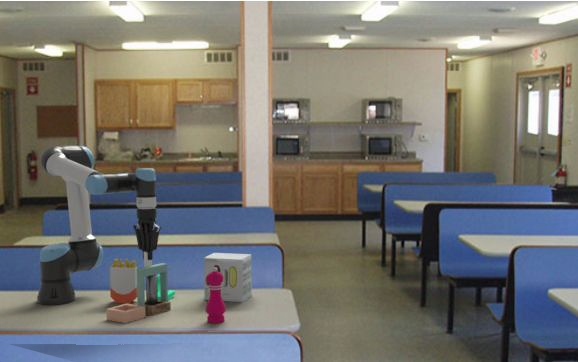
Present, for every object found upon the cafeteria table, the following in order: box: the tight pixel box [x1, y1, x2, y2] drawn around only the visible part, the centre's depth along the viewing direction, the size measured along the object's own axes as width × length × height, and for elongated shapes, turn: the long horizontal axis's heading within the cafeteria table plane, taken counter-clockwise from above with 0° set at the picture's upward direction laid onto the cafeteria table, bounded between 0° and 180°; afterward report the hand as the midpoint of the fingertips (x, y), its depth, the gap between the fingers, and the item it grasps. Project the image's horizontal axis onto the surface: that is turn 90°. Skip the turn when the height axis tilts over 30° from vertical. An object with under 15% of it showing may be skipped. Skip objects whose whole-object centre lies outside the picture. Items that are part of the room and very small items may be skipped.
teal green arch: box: [136, 262, 169, 307], centre depth 263 cm, size 3×14×17 cm, turn 146°
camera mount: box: [156, 274, 176, 301], centre depth 283 cm, size 12×8×10 cm, turn 167°
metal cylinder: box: [145, 274, 158, 306], centre depth 263 cm, size 4×4×14 cm
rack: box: [106, 303, 147, 324], centre depth 252 cm, size 10×10×4 cm
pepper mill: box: [205, 267, 227, 324], centre depth 247 cm, size 7×7×20 cm
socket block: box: [133, 300, 172, 316], centre depth 263 cm, size 10×10×3 cm
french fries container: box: [109, 258, 138, 304], centre depth 278 cm, size 5×11×18 cm, turn 82°
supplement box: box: [203, 252, 253, 303], centre depth 283 cm, size 17×13×18 cm
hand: (148, 267), depth 263 cm, fingers closed
